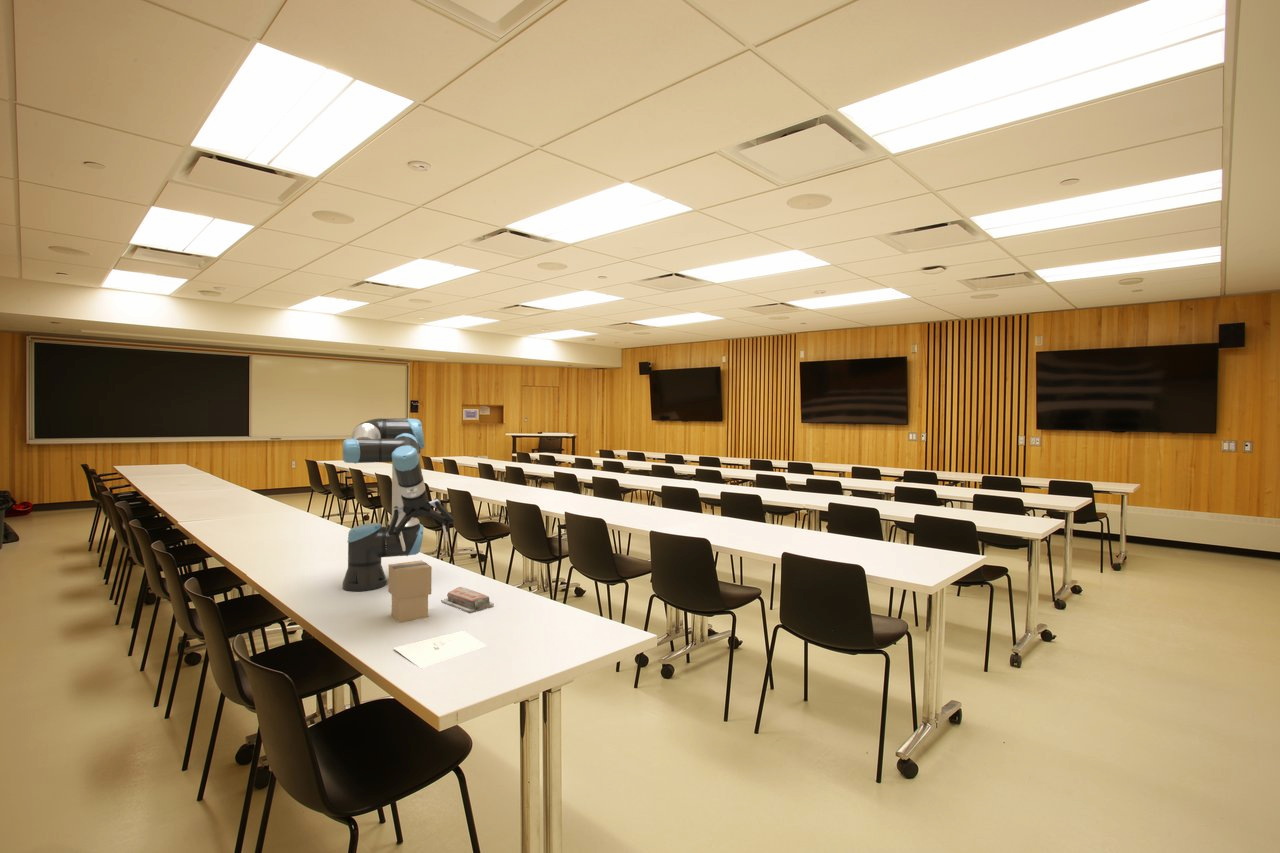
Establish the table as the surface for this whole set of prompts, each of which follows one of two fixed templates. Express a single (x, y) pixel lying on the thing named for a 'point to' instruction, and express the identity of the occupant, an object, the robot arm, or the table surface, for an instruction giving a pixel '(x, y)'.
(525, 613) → the table surface
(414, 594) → the brown cardboard block
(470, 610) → the packaged product
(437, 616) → the table surface
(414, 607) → the tan tall box
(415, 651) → the paper sheet
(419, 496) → the robot arm
